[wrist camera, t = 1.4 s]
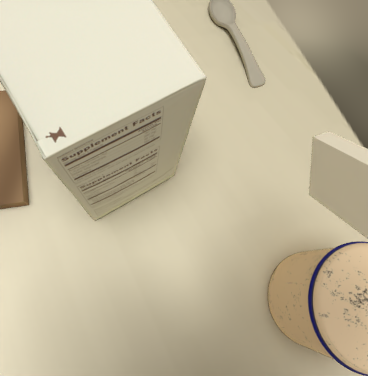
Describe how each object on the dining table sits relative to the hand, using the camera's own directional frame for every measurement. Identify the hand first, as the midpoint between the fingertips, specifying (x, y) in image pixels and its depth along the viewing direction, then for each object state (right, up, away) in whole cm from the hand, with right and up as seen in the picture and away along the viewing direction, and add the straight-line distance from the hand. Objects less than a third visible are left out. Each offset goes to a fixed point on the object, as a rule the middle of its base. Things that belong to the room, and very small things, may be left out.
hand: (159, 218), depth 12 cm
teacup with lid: (+14, -9, +20) cm, 26 cm away
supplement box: (-6, +4, +21) cm, 22 cm away
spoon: (+7, +18, +27) cm, 33 cm away
